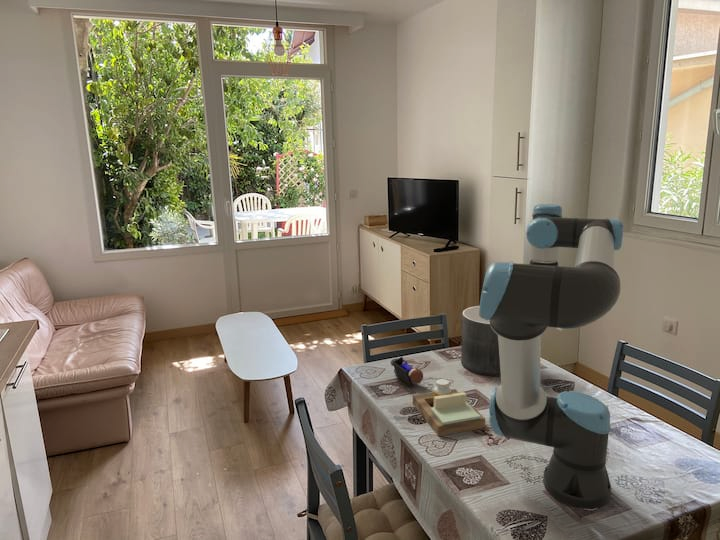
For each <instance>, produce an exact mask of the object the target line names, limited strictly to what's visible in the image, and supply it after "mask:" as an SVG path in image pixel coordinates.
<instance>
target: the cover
mask: <svg viewBox="0 0 720 540" xmlns="http://www.w3.org/2000/svg"><path fill="white" fill-rule="evenodd" d="M466 400H467V393H466V392H465V391H461V392H459V393H454V394H448V395H441V396H435V397H434V407H431V408H430V410H431V411H432V412H433V414H434V415H435V416H436V417H437V418H438V420H439V421H440V422H441V423H442V424H443V425H445V424H451V423H457V422H463V421H469V420H475V419H480V415H479V414H478V413H477V412H476V411H475V410H474V409H473V408H472V407H471V406H470V405H469V404H468V403H467V402H466Z"/></svg>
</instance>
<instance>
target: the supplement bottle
mask: <svg viewBox="0 0 720 540" xmlns="http://www.w3.org/2000/svg"><path fill="white" fill-rule="evenodd" d="M451 389H452V388H451V387H450V381H449V380H448V379H445V378H439V379H437V380H436V382H435V386H434V388H433V392H434V397H435V396H441V395H448V394H451Z"/></svg>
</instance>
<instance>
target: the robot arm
mask: <svg viewBox="0 0 720 540" xmlns="http://www.w3.org/2000/svg"><path fill="white" fill-rule="evenodd" d="M531 216H532V220H531V221H530V223H529V224H528V226H527V227H526V228H527V229H526V232H525V233H526V239H527V241H528V243H529V244H530V257H529V259H531V260H530V261H529V263H514V262H513V261H508V262H507V261H506V262H505V261H502V262H501V261H495V262H493V263H491V264H490V265H489V266H488V267H487V270H486V273H485V274H484V275H485V276H484V279H483V280H484V281H483V285H482V289H481V293H480V294H481V295H480V298H479V299H480V300H479V305H478V306H479V316H480V317H481V318H483V319H485V320H489V321H490V325H491V328H492V329H493V331H494V332H495V333H496V334H498V342H499V357H500V371H501V376H500V380H501V381H500V385H499V386H498V387H496V388H494V389H493V391H492V392H491V395H490V400H489V407H488V411H489V417H488V418H489V423H490V427H491V430H492V432H493V433H494V434H495V435H497V436H500V437H504V438H506V439H512V440H517V441H522V442H527V443H531V444H535V445H540V446H545V447H550V448H553V453H552V455H551V457H550V459H549V461H548V465H547V466H546V467H545V469H544V471H543V481H542V483H543V486H544V489H545V490H546V492H548V494H549V495H550V496H552V497H553V499H556V500H558V501H559V502H560V503H563V504H565V505H567V506H570V507H573V508H580V509H589V510H591V509H597V508H601V507H604V506H605V505H607V504H608V503H609V502H610V499H611V493H612V485H611V481H610V477H609V474H608V470H607V467H606V464H607V455H608V445H609V444H608V443H609V433H610V432H611V429H612V428H611V413H610V410H609V409H608V407H607V406H606V404H605V403H603V402H602V401H600V399H598V398H596V397H594V396H592V395H590V394H588V393H584V392H581V391H575V390H569V391H568V390H567V391H566V390H565V391H562V392H560V393H559V394H558V395H557V396H556V397H553V396H549V395H546V392H545V390H544V388H543V387H542V386H541V354H542V353H541V347H542V344H541V343H542V341H541V340H542V335H543V334H544V333H545V332H546V331H547V329H548V328H555V329H556V330H559V331H560V332H562V331H564V329H566V330H567V329H568V330H569V329H577V328H581V327H585V326H587V325H589V324H592V323H594V322H596V321H598V320H599V319H601V318H603V317H604V316H605V315H606V314H608V313H609V312H610V311H612V308H613V307H614V306H615V305H616V303H617V302H618V300H619V297H620V295H621V293H620V292H621V279H620V276H619V274H618V272H617V271H616V269H615V253H614V251H619V250H620V249H622V244H623V235H624V222H623V221H622V220H619V219H611V218H610V219H609V218H584V217H583V218H578V217H577V218H576V217H563V208H562V206H561V205H559V204H549V203H547V204H546V203H545V204H544V203H541V204H536V205H534V207H533V210H532V215H531ZM560 248H568V249H569V248H571V249H577V252H576V258H575V263H574V264H575V265H574V266H562V265H561V266H560V265H559V262H558V260H559V259H560Z"/></svg>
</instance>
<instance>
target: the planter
mask: <svg viewBox="0 0 720 540" xmlns="http://www.w3.org/2000/svg"><path fill="white" fill-rule="evenodd" d="M479 306H480V305H475V306H470V307H467V308H465V309H463V311H462V316H461V317H462V318H461V321H462V322H461V356H460V357H461V360H460V362H461V365H462V366H463V368H464V369H466V370H468V371H469V372H472V373H474V374H478V375H481V376H489V377H490V376H491V377H501V371H500V357H499V342H498V334H496V333H495V332H494V331H493V329H492V328H491V325H490V321H489V320H485V319H483V318H481V317H480V316H479Z"/></svg>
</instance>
